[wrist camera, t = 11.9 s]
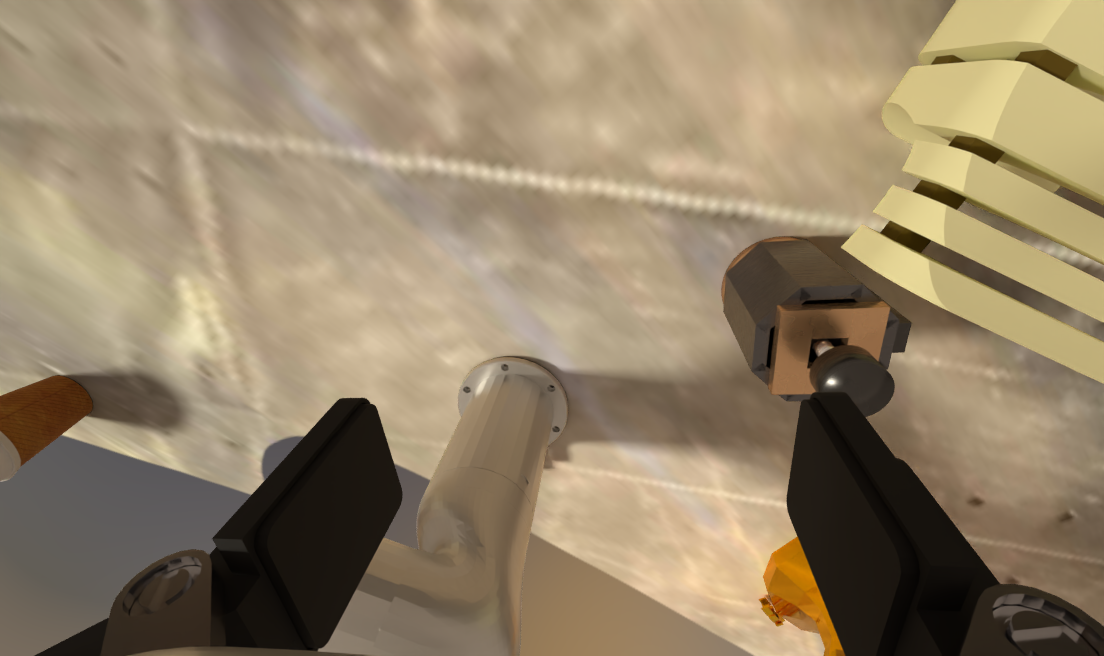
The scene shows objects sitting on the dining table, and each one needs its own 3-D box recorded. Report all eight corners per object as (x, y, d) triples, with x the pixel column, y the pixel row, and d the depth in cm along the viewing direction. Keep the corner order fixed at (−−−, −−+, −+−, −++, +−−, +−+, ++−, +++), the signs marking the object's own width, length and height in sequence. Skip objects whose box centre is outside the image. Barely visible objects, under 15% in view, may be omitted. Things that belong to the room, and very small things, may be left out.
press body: (836, 329, 47) (908, 409, 35) (718, 333, 48) (750, 410, 37) (853, 232, 42) (940, 285, 31) (724, 240, 44) (761, 293, 33)
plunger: (816, 327, 44) (904, 434, 30) (742, 330, 45) (796, 433, 31) (826, 260, 41) (928, 344, 28) (747, 264, 42) (809, 347, 29)
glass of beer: (71, 430, 67) (-34, 495, 56) (19, 373, 63) (-103, 431, 52) (119, 416, 64) (20, 481, 54) (68, 356, 61) (-49, 413, 50)
